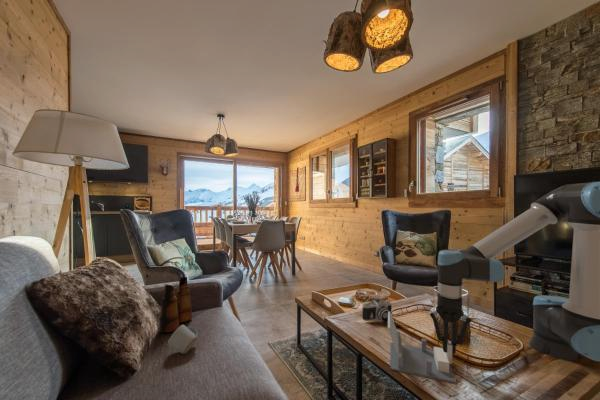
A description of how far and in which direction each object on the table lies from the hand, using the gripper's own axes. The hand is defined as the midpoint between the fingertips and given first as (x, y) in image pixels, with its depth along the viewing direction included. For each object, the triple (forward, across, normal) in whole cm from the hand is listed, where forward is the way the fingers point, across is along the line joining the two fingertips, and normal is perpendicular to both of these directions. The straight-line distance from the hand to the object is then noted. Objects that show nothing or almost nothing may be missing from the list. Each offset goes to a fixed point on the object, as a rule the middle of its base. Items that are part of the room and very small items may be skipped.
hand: (448, 361), depth 91 cm
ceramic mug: (+3, +96, +23) cm, 98 cm away
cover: (-3, +16, 0) cm, 17 cm away
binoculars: (+3, +116, +7) cm, 116 cm away
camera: (+3, +25, -29) cm, 39 cm away
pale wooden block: (+1, +2, 0) cm, 3 cm away
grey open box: (+2, +10, 0) cm, 10 cm away
